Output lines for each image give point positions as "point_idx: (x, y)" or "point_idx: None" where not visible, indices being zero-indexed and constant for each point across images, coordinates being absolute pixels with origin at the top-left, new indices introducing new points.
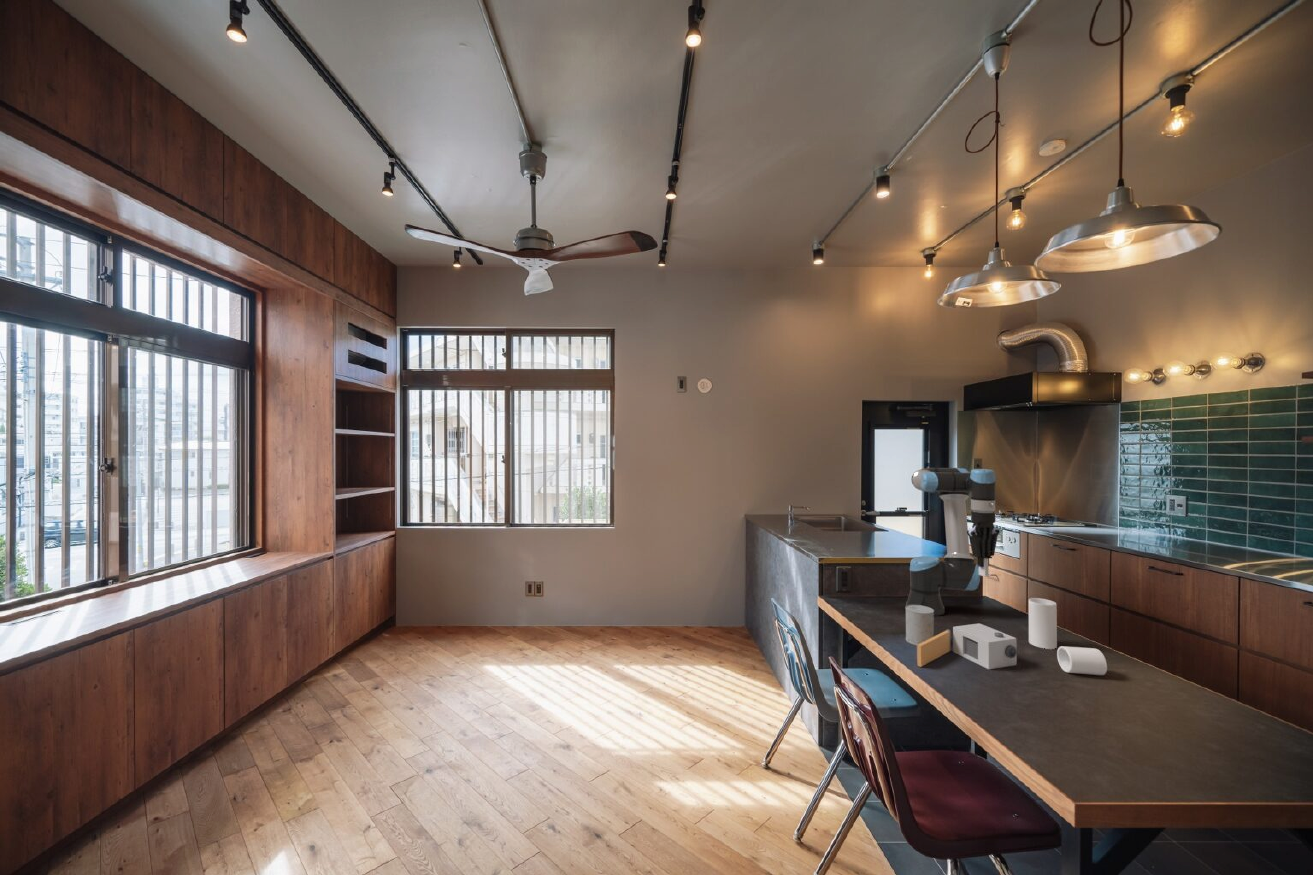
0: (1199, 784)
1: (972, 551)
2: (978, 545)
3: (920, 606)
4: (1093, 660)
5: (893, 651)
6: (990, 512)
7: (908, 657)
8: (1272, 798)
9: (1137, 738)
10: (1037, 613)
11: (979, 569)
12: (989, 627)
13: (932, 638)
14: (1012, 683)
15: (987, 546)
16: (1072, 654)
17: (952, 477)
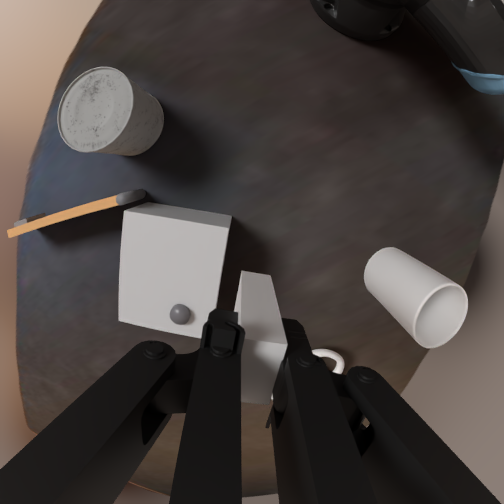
0: None
1: (112, 373)
2: (105, 497)
3: (120, 86)
4: None
5: (42, 149)
6: None
7: (45, 183)
8: (164, 492)
9: (152, 450)
10: (399, 310)
11: (240, 292)
12: (221, 264)
13: (50, 218)
14: (130, 341)
15: (282, 501)
16: (272, 398)
17: None
